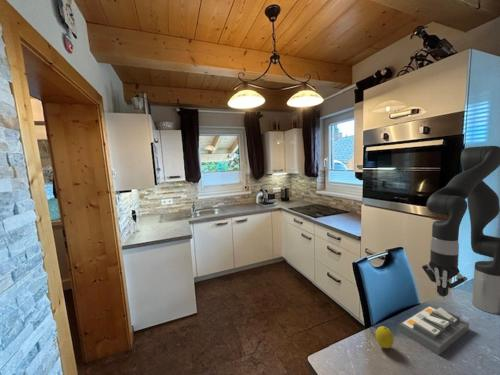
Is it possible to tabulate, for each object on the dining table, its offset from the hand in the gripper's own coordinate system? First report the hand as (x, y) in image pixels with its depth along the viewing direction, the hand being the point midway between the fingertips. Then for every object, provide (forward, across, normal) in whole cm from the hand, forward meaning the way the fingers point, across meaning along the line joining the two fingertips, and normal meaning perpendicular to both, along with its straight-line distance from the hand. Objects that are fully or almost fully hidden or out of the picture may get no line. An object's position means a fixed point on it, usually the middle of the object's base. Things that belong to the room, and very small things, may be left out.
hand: (442, 295), depth 80 cm
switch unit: (+18, +4, -4) cm, 19 cm away
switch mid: (+14, +3, -4) cm, 14 cm away
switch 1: (+13, +3, +3) cm, 14 cm away
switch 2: (+14, +3, -11) cm, 18 cm away
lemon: (+18, +8, +21) cm, 29 cm away
